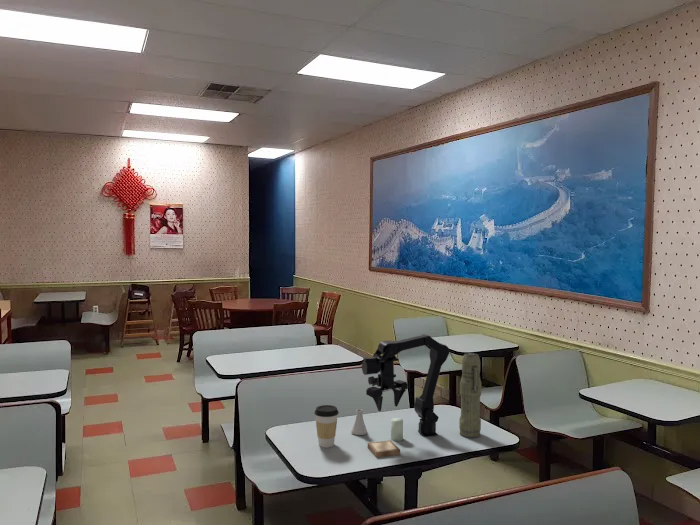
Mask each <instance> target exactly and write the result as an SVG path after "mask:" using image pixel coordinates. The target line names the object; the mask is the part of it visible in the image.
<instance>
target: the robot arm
mask: <svg viewBox="0 0 700 525" xmlns="http://www.w3.org/2000/svg"><path fill="white" fill-rule="evenodd" d="M377 345H378V346H377V349H376V351H374V353H373V355H372V357H364V358H363V361H362V362H361V371H362V374H364V375H363V376H368V377H367V382H368V384H369V385H371V386H370V387H367V388H366V391H365V392H366V396H368V397H370V398H371V399H373V402H374V404H375V406H376V408H377V411H378V412H382V405H383V400H384V396H382V395H383V393H385V392H388V391H392V393H393V400H394V401H393V404H394V407H398V405H399V404H400V401H401V399H402V397H403V395H404V393H406V390H408V389H409V384H408V382H407V381H404V380H402V379H398V380H395V378H396V377H397V374H396V373H395V362H398V361H400V360H399V358H397V356H396V355H398V354H400V353H401V352H402V351H407V350H410V349H414V348H415V349H416V348H419V347H423V346H425V347H426V348H427V349H429V359H430V360H429V361H430V363H429V366H428V371H427V375H426V377H425V378H426V379H425V382H424V385H423V389H422V393H421V395H420V396H419V397H418V396H416V398H415V401H414V404H413V407H414V412H415V413H416V414H417V416H418V418H419V422H418V430H417V432H418V433H419V434H420V435H422V437H431V436H438V433H437V432H436V431H437V427H436V426H437V422H438V421H439V416H438V415H437V414H436V413H435V411H434V409H435V402H434V395H435V391H436V388H437V384H438V380H439V376H440V372H441V369H442V366H443V365H444V363H445V362H446V361H447V359H448V356H449V354H450V349H449V347H448V346H447V345H446V344H443V343H440V342H439V341H437V340H435V339H434V337H432V336H430V335H428V334H425V333H424V334H421V335H417V336H412V337H409V338H406V339H405V338H404V339H401V340H382V341H380V342H379V344H377ZM376 374H377V377H375V376H369V375H376Z"/></svg>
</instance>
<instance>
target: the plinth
mask: <svg viewBox="0 0 700 525" xmlns="http://www.w3.org/2000/svg"><path fill="white" fill-rule="evenodd" d="M367 449H368V450H369V451H370V452H371V454H372V455H373V456H374V458H382V457H389V456H400V455H401V449H400V448H399V447H398V446H397V445H396V444H395V443H394V441H393V440H391V439H390V440H383V441H382V440H381V441H374V442H373V441H372V442H367Z"/></svg>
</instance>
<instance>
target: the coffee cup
mask: <svg viewBox="0 0 700 525" xmlns="http://www.w3.org/2000/svg"><path fill="white" fill-rule="evenodd" d="M313 414H314V415H315V427H316V433H317V434H316V435H317V436H316V437H317V440H318V441H317V442H318V446H320V448H332V447H334V445H335V438H336V434H337V433H336V432H337V425H338V415H339V410H338V407H337V406H335V405H328V404H324V405H319V406H316V408H315V410H314V413H313Z"/></svg>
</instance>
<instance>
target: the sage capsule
mask: <svg viewBox="0 0 700 525" xmlns="http://www.w3.org/2000/svg"><path fill="white" fill-rule="evenodd" d="M403 439H404V420H403V418H400V417H393V418H391V419H390V440H391V441H393V442H394V441H395V442H400V441H403Z"/></svg>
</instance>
